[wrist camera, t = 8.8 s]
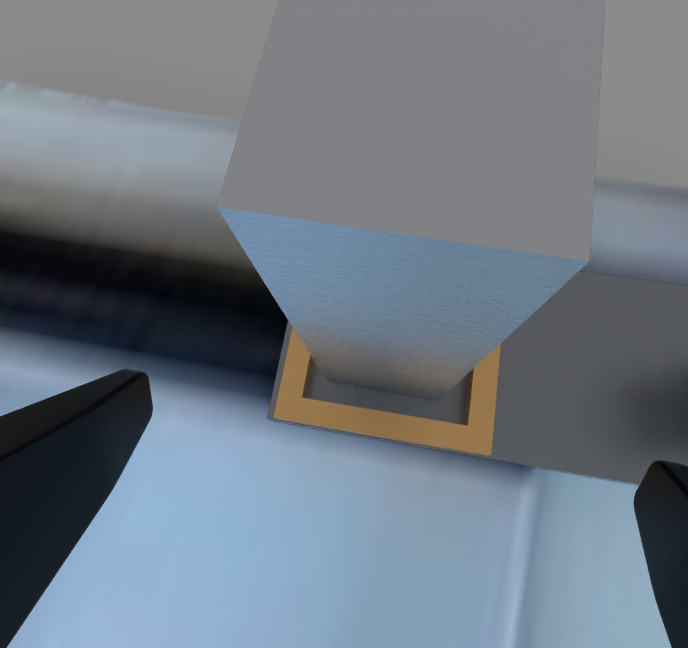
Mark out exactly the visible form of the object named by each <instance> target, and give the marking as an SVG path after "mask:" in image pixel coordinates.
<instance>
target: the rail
mask: <svg viewBox="0 0 688 648" xmlns="http://www.w3.org/2000/svg"><path fill="white" fill-rule="evenodd" d="M267 419H268V420H271V421H274V422H279V423H284V424H290V425H296V426H302V427H307V428H313V429H319V430H324V431H330V432H336V433H341V434H347V435H353V436H358V437H364V438H370V439H375V440H381V441H387V442H392V443H398V444H404V445H409V446H415V447H421V448H426V449H432V450H438V451H443V452H449V453H455V454H460V455H466V456H472V457H478V458H483V459H489V460H495V461H500V462H506V463H512V464H517V465H523V466H529V467H534V468H540V469H546V470H551V471H557V472H563V473H568V474H574V475H580V476H585V477H591V478H597V479H602V480H608V481H614V482H619V483H625V484H631V485H636V486H639V485H640V483H641V482H642V480H643V478H644V476H645V474H646V472H647V470H648V468H649V466H650V465H651V464H652V463H653V462H654V461H656V460H664V461H669V462H675V463H681V464H683V465H686V466H687V467H688V285H682V284H674V283H666V282H659V281H651V280H643V279H635V278H628V277H620V276H612V275H605V274H597V273H589V272H581V271H579V272H577V273H576V274H575V275H574V276H573V277H572V278H571V279H570V280H569V281H568V282H567V283H566V284H564V285H563V286H562V287H561V288H560V289H559V290H558V291H557V292H556V293H555V294H554V295H553V296H551V297H550V298H549V299H548V300H547V301H546V302H545V303H544V304H543V305H542V306H541V307H540V308H538V309H537V310H536V311H535V312H534V313H533V314H532V315H531V316H530V317H529V318H528V319H526V320H525V321H524V322H523V323H522V324H521V325H520V326H519V327H518V328H517V329H516V330H515V331H513V332H512V333H511V334H510V335H509V336H508V337H507V338H506V339H505V340H504V341H503V342H502V343H500V344H499V345H498V346H497V347H496V348H495V349H494V350H493V351H492V352H491V353H490V354H489V355H487V356H486V357H485V358H484V359H483V360H482V361H481V362H480V363H479V364H478V365H477V366H476V367H474V368H473V369H472V370H471V371H470V372H469V373H468V374H467V375H466V376H465V377H464V378H463V379H461V380H460V381H459V382H458V383H457V384H456V385H455V386H454V387H453V388H452V389H451V390H450V391H448V392H447V393H446V394H445V395H444V396H443V397H442V398H441V399H440V400H439V401H436V400H431V399H425V398H420V397H414V396H409V395H404V394H398V393H393V392H388V391H382V390H377V389H371V388H366V387H361V386H355V385H350V384H345V383H339V382H334V381H328V380H326V379H325V377H324V375H323V374H322V372H321V371H320V369H319V368H318V366H317V364H316V363H315V361H314V360H313V358H312V357H311V355H310V353H309V352H308V350H307V349H306V347H305V346H304V344H303V342H302V341H301V339H300V338H299V336H298V335H297V333H296V331H295V330H294V328H293V327H292V325H291V324H290V322H289V320H288V323H287V328H286V333H285V337H284V342H283V347H282V351H281V356H280V361H279V365H278V370H277V375H276V379H275V384H274V389H273V393H272V398H271V403H270V407H269V412H268V417H267Z"/></svg>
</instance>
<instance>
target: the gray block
mask: <svg viewBox="0 0 688 648" xmlns="http://www.w3.org/2000/svg"><path fill="white" fill-rule="evenodd" d="M604 13H605V0H278V4H277V7H276V10H275V13H274V17H273V20H272V23H271V27H270V30H269V33H268V37H267V40H266V43H265V47H264V50H263V53H262V58H261V60H260V64H259V67H258V70H257V74H256V77H255V80H254V84H253V87H252V90H251V94H250V97H249V100H248V104H247V107H246V111H245V114H244V117H243V120H242V124H241V127H240V130H239V134H238V137H237V140H236V144H235V147H234V150H233V154H232V157H231V160H230V164H229V167H228V170H227V174H226V177H225V180H224V184H223V187H222V191H221V194H220V197H219V201H218V204H217V209H218V210H219V212H220V213H221V215H222V216H223V218H224V220H225V221H226V223H227V224H228V226H229V227H230V229H231V231H232V232H233V234H234V235H235V237H236V238H237V240H238V242H239V243H240V245H241V246H242V248H243V249H244V251H245V253H246V254H247V256H248V257H249V259H250V261H251V262H252V264H253V265H254V267H255V268H256V270H257V272H258V273H259V275H260V276H261V278H262V279H263V281H264V283H265V284H266V286H267V287H268V289H269V290H270V292H271V294H272V295H273V297H274V298H275V300H276V301H277V303H278V305H279V306H280V308H281V309H282V311H283V312H284V314H285V316H286V317H287V319H288V320H289V322H290V324H291V325H292V327H293V328H294V330H295V331H296V333H297V335H298V336H299V338H300V339H301V341H302V342H303V344H304V346H305V347H306V349H307V350H308V352H309V353H310V355H311V357H312V358H313V360H314V361H315V363H316V364H317V366H318V368H319V369H320V371H321V372H322V374H323V375H324V377H325V379H326V380H328V381H334V382H339V383H345V384H350V385H355V386H361V387H366V388H371V389H377V390H382V391H388V392H393V393H398V394H404V395H409V396H414V397H420V398H425V399H431V400H436V401H439V400H440V399H441V398H442V397H443V396H444V395H445V394H446V393H447V392H448V391H450V390H451V389H452V388H453V387H454V386H455V385H456V384H457V383H458V382H459V381H460V380H461V379H463V378H464V377H465V376H466V375H467V374H468V373H469V372H470V371H471V370H472V369H473V368H474V367H476V366H477V365H478V364H479V363H480V362H481V361H482V360H483V359H484V358H485V357H486V356H487V355H489V354H490V353H491V352H492V351H493V350H494V349H495V348H496V347H497V346H498V345H499V344H500V343H502V342H503V341H504V340H505V339H506V338H507V337H508V336H509V335H510V334H511V333H512V332H513V331H515V330H516V329H517V328H518V327H519V326H520V325H521V324H522V323H523V322H524V321H525V320H526V319H528V318H529V317H530V316H531V315H532V314H533V313H534V312H535V311H536V310H537V309H538V308H540V307H541V306H542V305H543V304H544V303H545V302H546V301H547V300H548V299H549V298H550V297H551V296H553V295H554V294H555V293H556V292H557V291H558V290H559V289H560V288H561V287H562V286H563V285H564V284H566V283H567V282H568V281H569V280H570V279H571V278H572V277H573V276H574V275H575V274H576V273H577V272H579V271H580V270H581V269H582V268H583V267H584V266H585V265H586V264H587V263H588V262H589V260H590V244H591V227H592V211H593V195H594V178H595V162H596V145H597V128H598V111H599V95H600V79H601V62H602V47H603V30H604Z"/></svg>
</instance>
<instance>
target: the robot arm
mask: <svg viewBox="0 0 688 648" xmlns="http://www.w3.org/2000/svg"><path fill="white" fill-rule="evenodd" d="M152 412H153V405H152V398H151V391H150V384H149V379H148V376H147V375H146V374H145V373H144V372H140V371H135V370H129V369H123V370H120V371H118V372H115V373H112V374H110V375H107V376H105V377H102V378H99V379H97V380H94V381H91V382H89V383H86V384H84V385H81V386H78V387H76V388H73V389H71V390H68V391H65V392H63V393H60V394H58V395H55V396H52V397H50V398H47V399H44V400H42V401H39V402H37V403H34V404H31V405H29V406H26V407H24V408H21V409H18V410H16V411H13V412H11V413H8V414H5V415H3V416H0V648H7V646H8V645H9V644H10V642H11V641H12V639H13V638H14V636H15V635H16V633H17V632H18V630H19V629H20V627H21V626H22V624H23V623H24V621H25V620H26V618H27V617H28V615H29V614H30V612H31V611H32V609H33V608H34V606H35V605H36V603H37V602H38V600H39V599H40V597H41V596H42V594H43V593H44V591H45V590H46V588H47V587H48V586H49V584H50V583H51V581H52V580H53V578H54V577H55V575H56V574H57V572H58V571H59V569H60V568H61V566H62V565H63V563H64V562H65V560H66V559H67V557H68V556H69V554H70V553H71V551H72V550H73V548H74V547H75V545H76V544H77V542H78V541H79V539H80V538H81V536H82V535H83V533H84V532H85V531H86V529H87V528H88V526H89V525H90V523H91V522H92V520H93V519H94V517H95V516H96V514H97V513H98V511H99V510H100V508H101V507H102V505H103V504H104V502H105V501H106V499H107V498H108V496H109V495H110V493H111V491H112V490H113V488H114V486H115V485H116V483H117V481H118V479H119V478H120V476H121V474H122V472H123V470H124V468H125V466H126V464H127V463H128V461H129V459H130V457H131V455H132V453H133V451H134V449H135V448H136V446H137V444H138V442H139V440H140V438H141V436H142V434H143V433H144V431H145V429H146V427H147V425H148V423H149V421H150V419H151V416H152ZM634 510H635V515H636V519H637V523H638V528H639V532H640V536H641V541H642V545H643V549H644V554H645V558H646V562H647V567H648V571H649V575H650V580H651V584H652V588H653V592H654V595H655V599H656V602H657V605H658V609H659V612H660V615H661V618H662V621H663V624H664V627H665V629H666V632H667V635H668V638H669V641H670V644H671V647H672V648H688V467H687V466H686V465H683V464H681V463H675V462H669V461H664V460H656V461H654V462H653V463H652V464H651V465H650V466H649V468H648V470H647V472H646V474H645V476H644V478H643V480H642V482H641V483H640V485H639V487H638V489H637V491H636V493H635V496H634Z"/></svg>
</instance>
